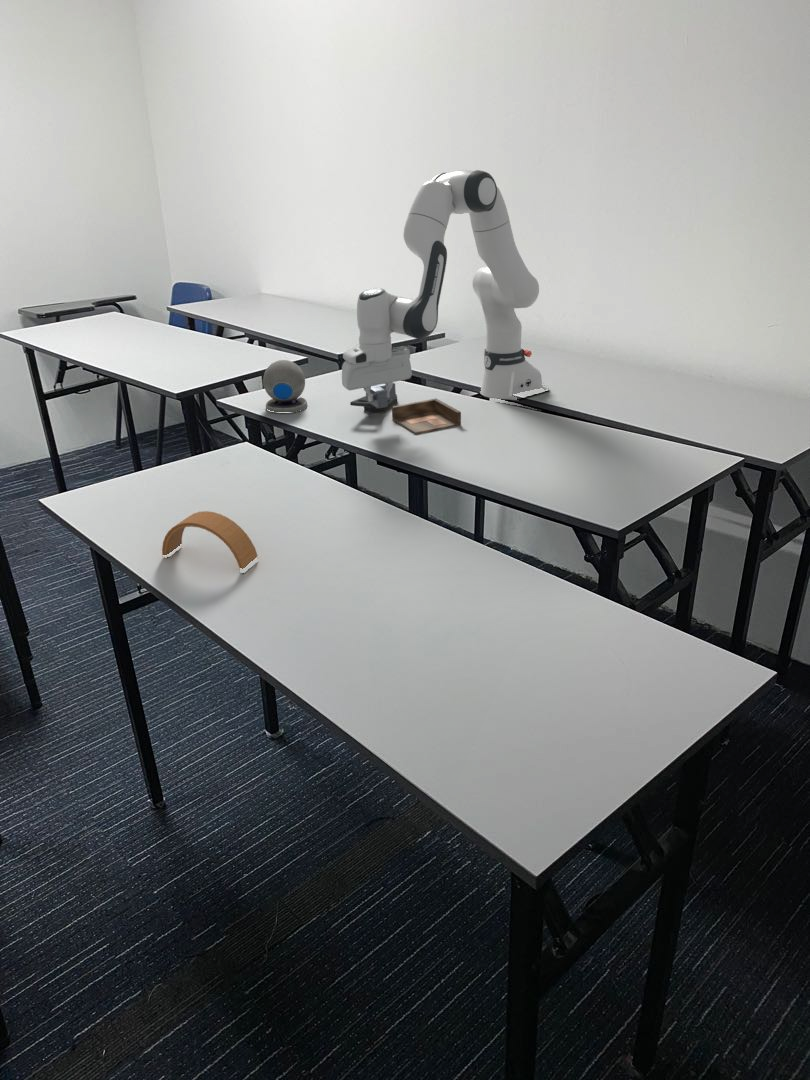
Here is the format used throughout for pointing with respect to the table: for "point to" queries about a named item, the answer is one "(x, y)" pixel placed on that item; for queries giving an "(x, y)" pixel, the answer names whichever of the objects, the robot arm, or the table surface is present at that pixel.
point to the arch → (220, 528)
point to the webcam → (284, 387)
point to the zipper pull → (371, 408)
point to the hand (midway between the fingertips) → (378, 399)
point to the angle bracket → (381, 395)
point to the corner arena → (426, 416)
